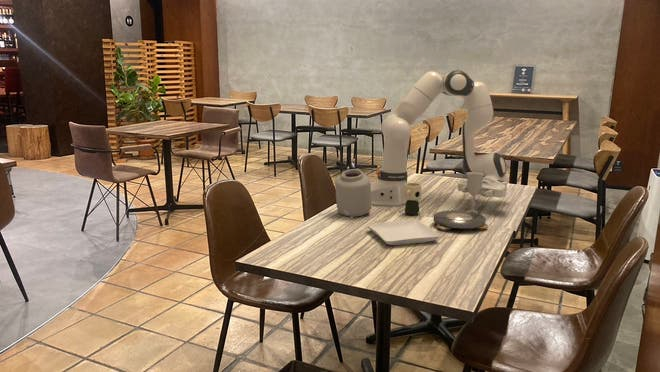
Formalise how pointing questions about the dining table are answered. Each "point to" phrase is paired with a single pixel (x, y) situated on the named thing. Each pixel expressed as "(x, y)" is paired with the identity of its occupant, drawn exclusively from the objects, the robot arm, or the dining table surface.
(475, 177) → the chalice
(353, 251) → the dining table surface
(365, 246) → the dining table surface
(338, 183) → the jar
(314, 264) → the dining table surface
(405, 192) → the character mug
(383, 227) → the salad plate
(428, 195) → the dining table surface
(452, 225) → the plate
